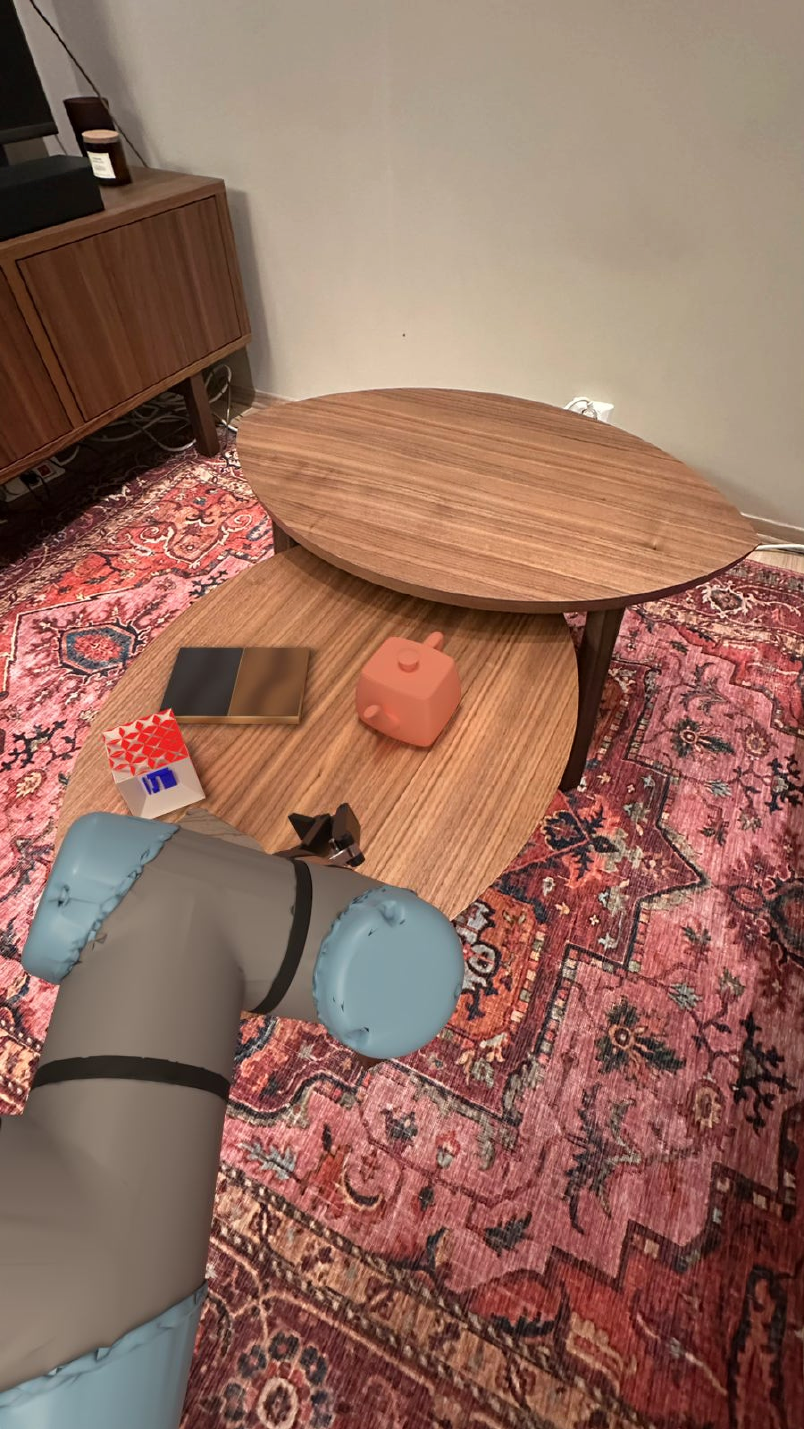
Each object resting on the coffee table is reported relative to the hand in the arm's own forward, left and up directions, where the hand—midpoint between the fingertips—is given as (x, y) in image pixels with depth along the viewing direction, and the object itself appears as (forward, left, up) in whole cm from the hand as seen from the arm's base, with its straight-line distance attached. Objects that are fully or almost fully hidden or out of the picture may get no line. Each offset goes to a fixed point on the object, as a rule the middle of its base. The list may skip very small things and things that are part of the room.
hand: (235, 865), depth 64 cm
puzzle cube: (-4, +20, -9) cm, 22 cm away
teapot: (+26, +15, -9) cm, 31 cm away
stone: (-1, +3, -9) cm, 10 cm away
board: (+10, +31, -9) cm, 33 cm away
